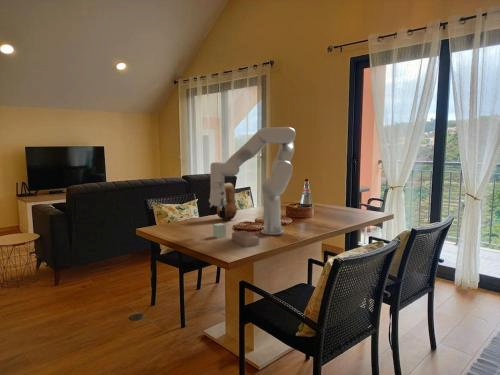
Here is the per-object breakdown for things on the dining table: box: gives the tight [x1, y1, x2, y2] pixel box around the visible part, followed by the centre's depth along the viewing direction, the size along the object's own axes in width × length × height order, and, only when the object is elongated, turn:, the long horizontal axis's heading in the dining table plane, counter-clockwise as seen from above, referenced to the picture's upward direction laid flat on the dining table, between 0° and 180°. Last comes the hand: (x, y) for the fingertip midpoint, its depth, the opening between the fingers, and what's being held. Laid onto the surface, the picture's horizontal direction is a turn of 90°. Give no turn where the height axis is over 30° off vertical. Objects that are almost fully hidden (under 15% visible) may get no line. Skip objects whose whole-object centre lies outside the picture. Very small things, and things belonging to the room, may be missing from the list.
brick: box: [231, 230, 260, 248], centre depth 194 cm, size 17×8×5 cm, turn 27°
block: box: [212, 222, 227, 239], centre depth 206 cm, size 5×5×7 cm
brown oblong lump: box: [216, 182, 238, 221], centre depth 250 cm, size 14×13×25 cm
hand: (217, 216), depth 205 cm, fingers open, 9 cm apart
